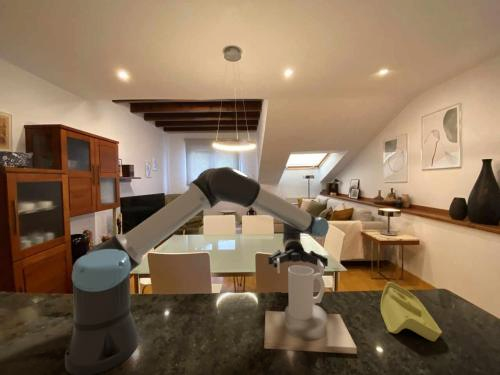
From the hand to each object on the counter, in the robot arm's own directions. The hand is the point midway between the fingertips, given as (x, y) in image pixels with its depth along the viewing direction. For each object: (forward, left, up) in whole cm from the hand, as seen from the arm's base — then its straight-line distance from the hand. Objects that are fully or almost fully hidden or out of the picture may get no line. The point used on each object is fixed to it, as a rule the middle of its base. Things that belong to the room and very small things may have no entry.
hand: (300, 269), depth 73 cm
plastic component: (+31, -1, -14) cm, 34 cm away
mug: (0, -10, -8) cm, 13 cm away
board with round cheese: (0, -10, -13) cm, 17 cm away
